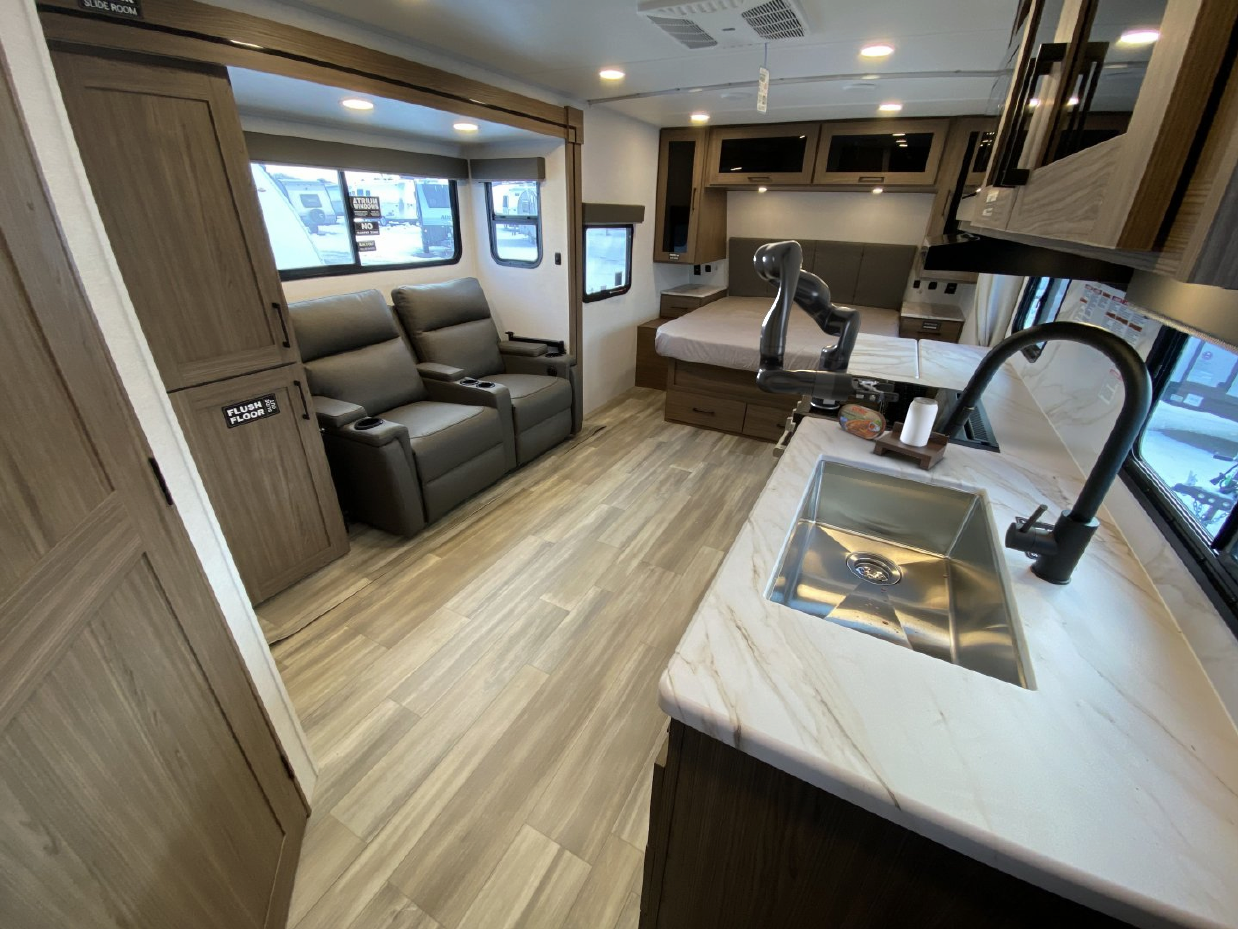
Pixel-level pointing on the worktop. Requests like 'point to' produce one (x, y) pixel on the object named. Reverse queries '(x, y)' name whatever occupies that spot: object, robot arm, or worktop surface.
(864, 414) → the tin
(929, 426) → the can
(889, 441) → the bench
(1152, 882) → the worktop surface
